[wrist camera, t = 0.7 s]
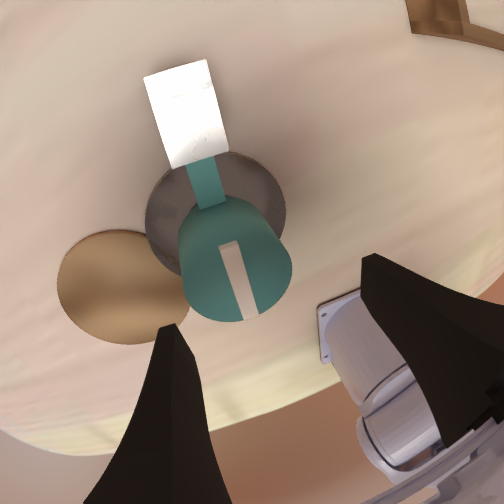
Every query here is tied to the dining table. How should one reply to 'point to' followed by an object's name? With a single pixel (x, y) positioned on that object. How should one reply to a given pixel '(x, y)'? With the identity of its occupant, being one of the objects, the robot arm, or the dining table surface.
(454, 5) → the tray
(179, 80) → the dark grey handled bowl
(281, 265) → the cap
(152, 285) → the coaster
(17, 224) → the dining table surface
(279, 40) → the dining table surface
